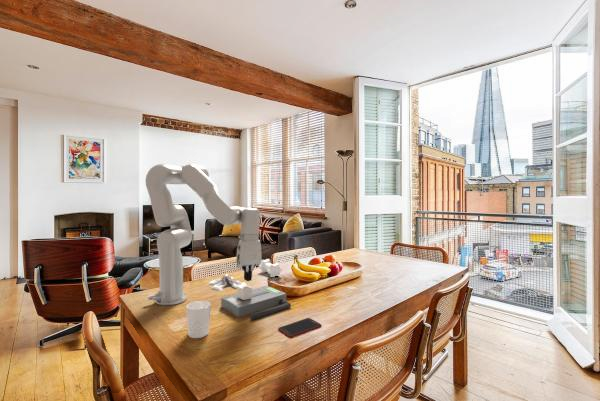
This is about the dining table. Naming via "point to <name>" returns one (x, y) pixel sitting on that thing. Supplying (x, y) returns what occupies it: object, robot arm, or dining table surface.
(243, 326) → the dining table surface
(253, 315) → the dark grey flat bar
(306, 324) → the cell phone
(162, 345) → the dining table surface
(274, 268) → the bone shaped toy
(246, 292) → the white cube
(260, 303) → the box
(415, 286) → the dining table surface
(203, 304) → the white cup
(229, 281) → the cloth
